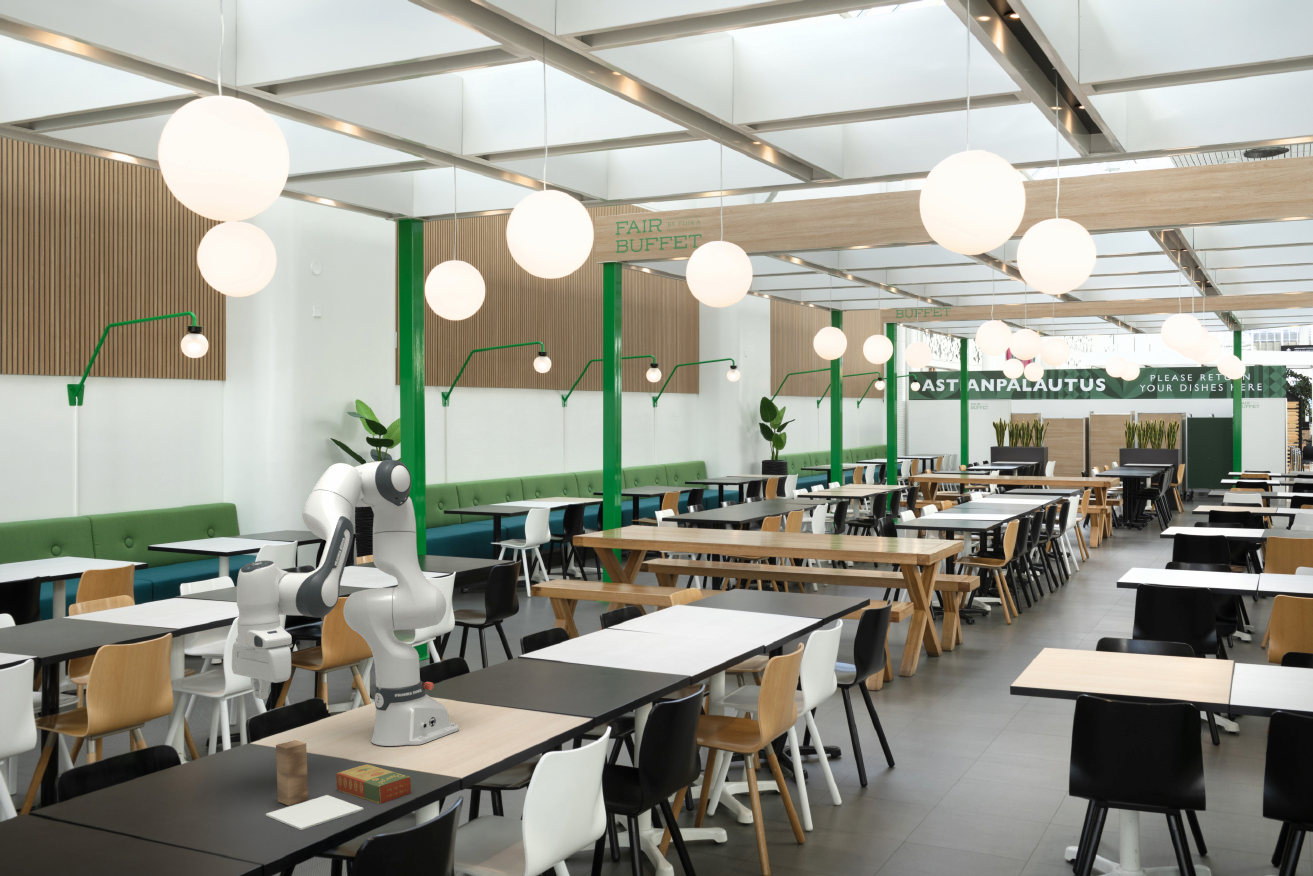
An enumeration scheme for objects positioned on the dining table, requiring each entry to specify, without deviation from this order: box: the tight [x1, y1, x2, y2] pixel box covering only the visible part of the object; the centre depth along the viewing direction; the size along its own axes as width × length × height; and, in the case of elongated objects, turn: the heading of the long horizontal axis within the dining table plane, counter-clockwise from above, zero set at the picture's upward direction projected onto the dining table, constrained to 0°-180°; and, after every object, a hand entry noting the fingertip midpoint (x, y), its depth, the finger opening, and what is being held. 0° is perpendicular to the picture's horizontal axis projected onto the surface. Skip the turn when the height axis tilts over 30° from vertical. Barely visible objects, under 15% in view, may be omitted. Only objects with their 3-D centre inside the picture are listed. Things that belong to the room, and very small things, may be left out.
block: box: [275, 739, 309, 807], centre depth 221 cm, size 4×4×12 cm
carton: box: [335, 763, 412, 805], centre depth 225 cm, size 8×16×4 cm, turn 50°
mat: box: [265, 794, 365, 831], centre depth 213 cm, size 14×14×1 cm
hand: (261, 698), depth 229 cm, fingers closed
